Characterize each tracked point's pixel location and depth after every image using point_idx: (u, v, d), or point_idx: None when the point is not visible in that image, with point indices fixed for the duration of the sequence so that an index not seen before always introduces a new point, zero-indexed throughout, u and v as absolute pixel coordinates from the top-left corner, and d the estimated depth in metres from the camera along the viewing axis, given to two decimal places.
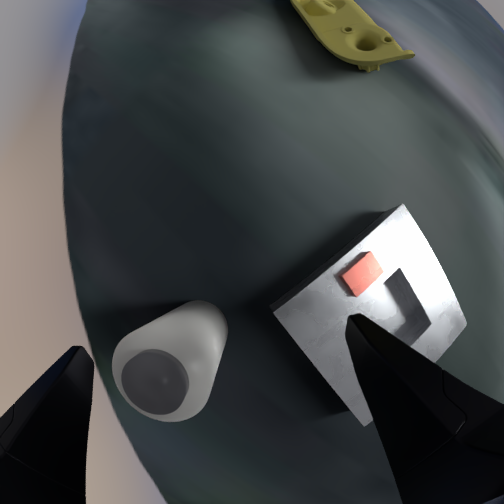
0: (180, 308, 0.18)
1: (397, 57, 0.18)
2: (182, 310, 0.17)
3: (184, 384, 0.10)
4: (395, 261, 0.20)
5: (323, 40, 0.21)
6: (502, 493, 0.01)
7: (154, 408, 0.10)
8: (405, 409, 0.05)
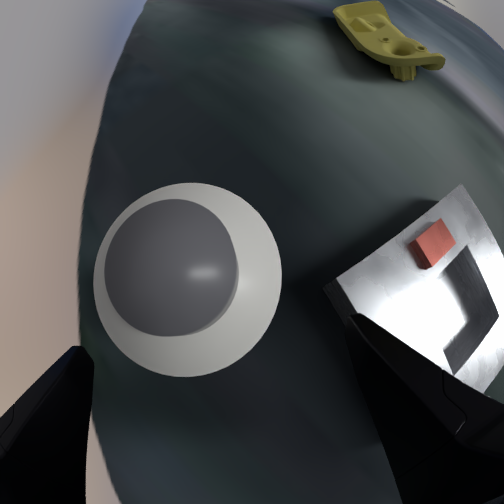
0: None
1: (429, 58, 0.18)
2: None
3: (235, 263, 0.06)
4: (462, 238, 0.15)
5: (362, 43, 0.22)
6: (502, 493, 0.01)
7: (154, 317, 0.05)
8: (405, 409, 0.05)
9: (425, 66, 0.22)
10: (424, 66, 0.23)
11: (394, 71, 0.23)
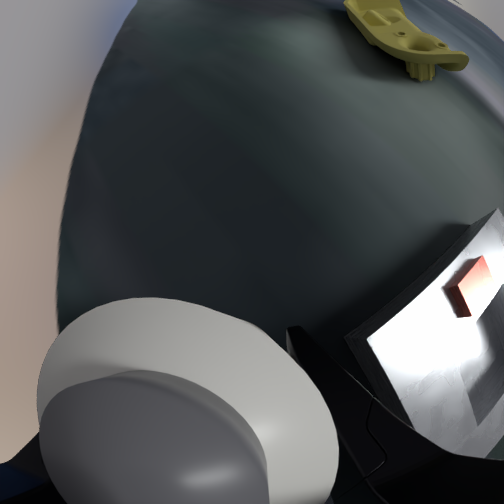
0: None
1: (451, 56, 0.14)
2: None
3: (269, 503, 0.02)
4: (499, 275, 0.11)
5: (375, 35, 0.18)
6: None
7: None
8: None
9: (444, 66, 0.18)
10: (443, 66, 0.19)
11: (410, 69, 0.20)
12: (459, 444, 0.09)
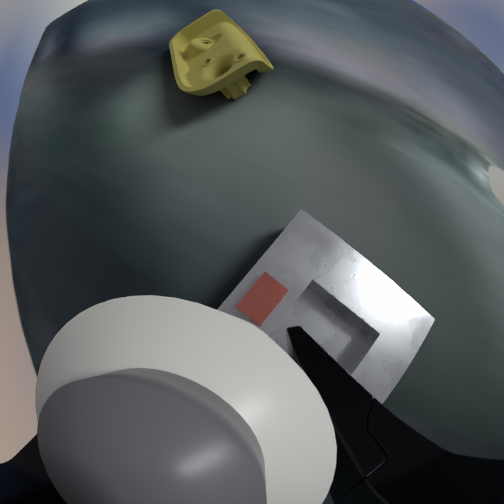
0: None
1: (239, 71, 0.21)
2: None
3: (266, 501, 0.02)
4: (305, 275, 0.19)
5: (177, 81, 0.24)
6: None
7: None
8: None
9: None
10: None
11: (222, 93, 0.27)
12: None
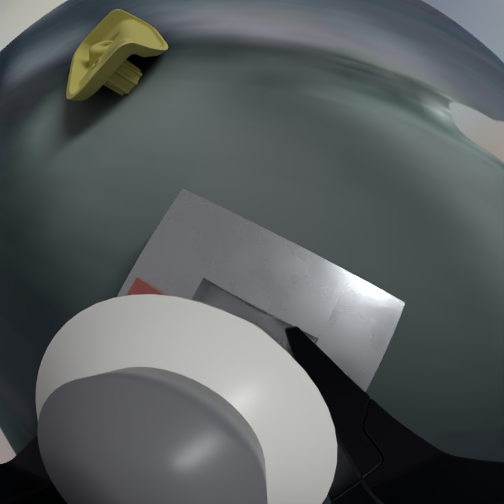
0: None
1: (110, 61, 0.16)
2: None
3: (267, 500, 0.02)
4: (192, 274, 0.14)
5: (67, 91, 0.19)
6: None
7: None
8: None
9: None
10: None
11: (114, 90, 0.21)
12: None
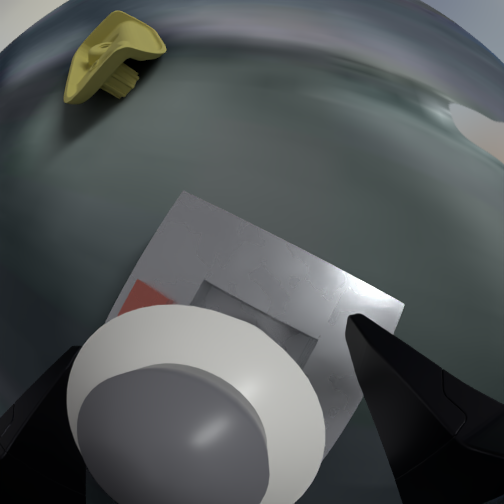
0: None
1: (106, 65, 0.16)
2: None
3: (269, 467, 0.03)
4: (193, 275, 0.14)
5: (64, 94, 0.19)
6: (502, 493, 0.01)
7: None
8: (405, 409, 0.05)
9: None
10: None
11: None
12: None
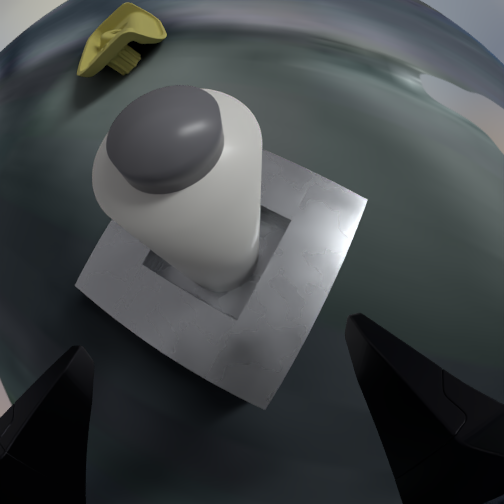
0: None
1: (113, 46, 0.18)
2: None
3: (220, 120, 0.06)
4: None
5: (78, 69, 0.22)
6: (502, 493, 0.01)
7: (145, 159, 0.05)
8: (405, 409, 0.05)
9: None
10: None
11: (116, 70, 0.24)
12: (224, 344, 0.14)
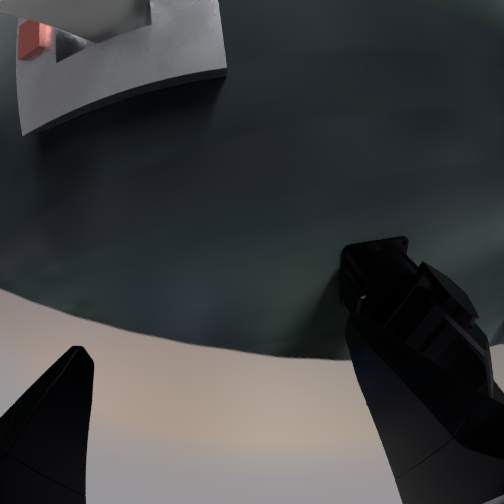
0: None
1: None
2: None
3: None
4: None
5: None
6: (502, 493, 0.01)
7: None
8: (405, 409, 0.05)
9: None
10: None
11: None
12: (154, 47, 0.11)
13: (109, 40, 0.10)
